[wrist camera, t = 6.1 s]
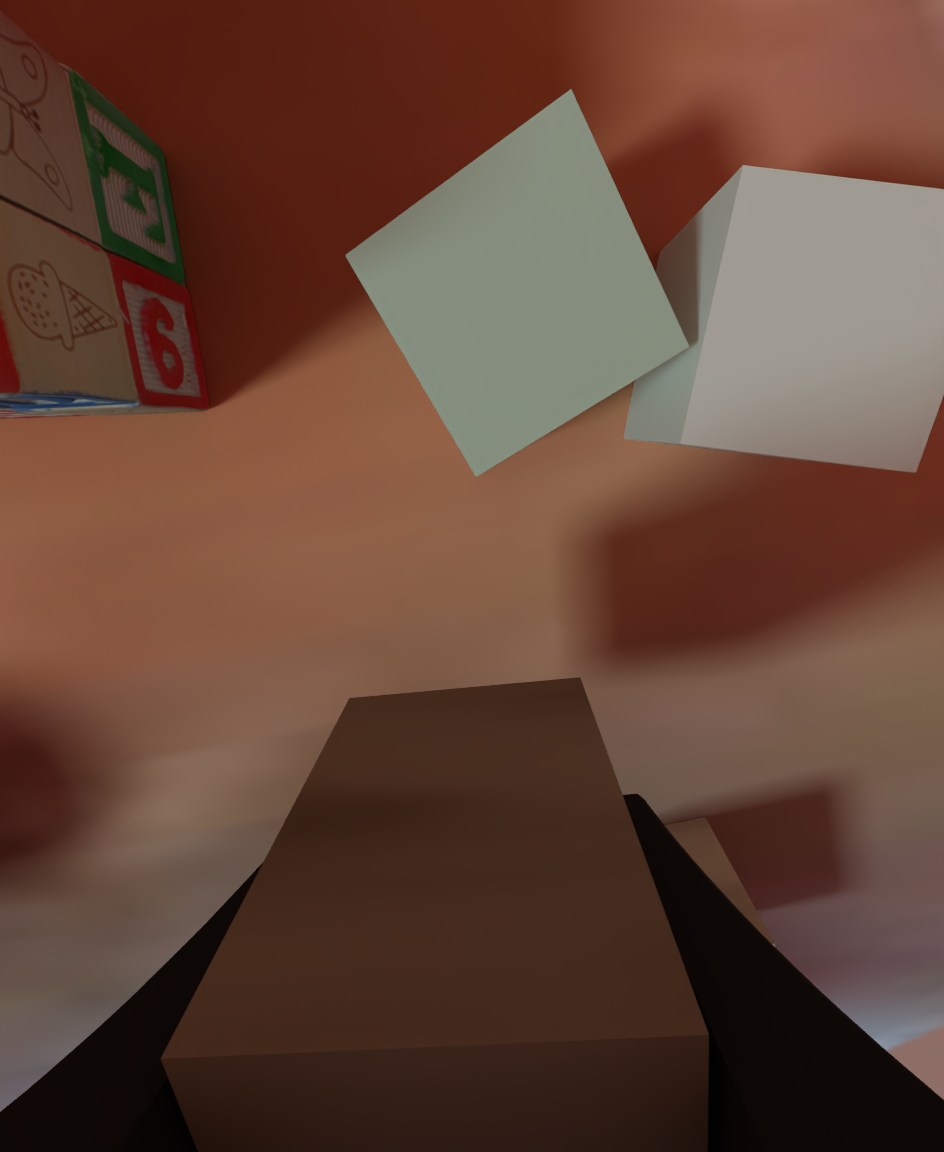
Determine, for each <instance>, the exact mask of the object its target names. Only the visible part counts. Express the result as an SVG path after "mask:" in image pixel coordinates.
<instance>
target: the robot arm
mask: <svg viewBox="0 0 944 1152" xmlns="http://www.w3.org/2000/svg"><path fill="white" fill-rule="evenodd" d="M623 798H624V800H625V803H626V806H627V809H628V812H629V814H630V817H631V820H632V823H633V825H634V828H635V831H636V834H637V837H638V839H639V842H640V845H641V848H642V850H643V853H644V856H645V859H646V861H647V864H648V867H649V870H650V873H651V875H652V878H653V881H654V884H655V886H656V889H657V892H658V895H659V898H660V900H661V903H662V906H663V909H664V911H665V914H666V917H667V920H668V922H669V925H670V928H671V931H672V934H673V936H674V939H675V942H676V945H677V947H678V950H679V953H680V956H681V959H682V961H683V964H684V967H685V970H686V972H687V975H688V978H689V981H690V983H691V986H692V989H693V992H694V995H695V997H696V1000H697V1003H698V1006H699V1008H700V1011H701V1014H702V1017H703V1020H704V1022H705V1025H706V1028H707V1031H708V1033H709V1084H708V1152H944V1100H943V1099H942V1098H941V1097H940V1096H938V1095H937V1094H936V1093H935V1092H934V1091H933V1090H931V1089H930V1088H929V1087H928V1086H927V1085H925V1084H924V1083H923V1082H922V1081H921V1080H920V1079H918V1078H917V1077H916V1076H915V1075H914V1074H913V1073H912V1072H910V1071H909V1070H908V1069H907V1068H906V1067H905V1066H903V1065H902V1064H901V1063H900V1062H899V1061H898V1060H896V1059H895V1058H894V1057H893V1056H892V1055H891V1054H889V1053H888V1052H887V1051H886V1050H885V1049H884V1048H882V1047H881V1046H880V1045H879V1044H878V1043H877V1042H876V1041H875V1040H873V1039H872V1038H871V1037H870V1036H869V1035H868V1034H867V1033H866V1032H865V1031H863V1030H862V1029H861V1028H860V1027H859V1026H858V1025H857V1024H856V1023H855V1022H853V1021H852V1020H851V1019H850V1018H849V1017H848V1016H847V1015H846V1014H845V1013H843V1012H842V1011H841V1010H840V1009H839V1008H838V1007H837V1006H836V1005H835V1004H834V1003H832V1002H831V1001H830V1000H829V999H828V998H827V997H826V996H825V995H824V994H823V993H822V992H821V991H820V990H819V989H817V988H816V987H815V986H814V985H813V984H812V983H811V982H810V981H809V980H808V979H807V978H806V977H805V976H804V975H803V974H802V973H801V972H800V971H799V970H798V969H797V968H796V967H794V966H793V965H792V964H791V963H790V962H789V961H788V960H787V959H786V958H785V957H784V956H783V955H782V954H781V953H780V952H779V951H778V950H777V949H776V948H775V947H774V946H773V945H772V944H771V943H770V942H769V941H768V940H767V939H766V938H765V937H764V936H763V935H762V934H761V933H760V932H759V931H758V930H757V928H756V927H755V926H754V925H753V924H752V923H751V922H750V921H749V920H748V919H747V918H746V917H745V916H744V915H743V914H742V913H741V912H740V911H739V910H738V909H737V908H736V906H735V905H734V904H733V903H732V902H731V901H730V900H729V899H728V898H727V897H726V896H725V894H724V893H723V892H722V891H721V890H720V889H719V888H718V887H717V886H716V885H715V884H714V882H713V881H712V880H711V879H710V878H709V877H708V876H707V875H706V874H705V873H704V871H703V870H702V869H701V868H700V867H699V866H698V865H697V863H696V862H695V861H694V860H693V859H692V858H691V857H690V855H689V854H688V853H687V852H686V851H685V849H684V848H683V847H682V846H681V845H680V844H679V842H678V841H677V840H676V839H675V838H674V836H673V835H672V834H671V833H670V832H669V830H668V829H667V828H666V827H665V825H664V824H663V823H662V822H661V820H660V819H659V818H658V817H657V815H656V814H655V813H654V811H653V810H652V809H651V808H650V806H649V805H648V804H647V802H646V801H645V800H644V799H643V798H642V797H641V796H640V795H638V794H629V795H623ZM262 864H263V863H262ZM262 864H261V865H260V866H259V867H258V868H257V869H256V871H255V872H254V873H253V874H252V875H251V876H250V877H249V878H248V879H247V880H246V881H245V882H244V883H243V885H242V886H241V887H240V888H239V889H238V890H237V891H236V892H235V893H234V894H233V895H232V896H231V897H230V898H229V899H228V900H227V902H226V903H225V904H224V905H223V906H222V907H221V908H220V909H219V910H218V911H217V912H216V913H215V914H214V915H213V916H212V917H211V919H210V920H209V921H208V922H207V923H206V924H205V925H204V926H203V927H202V928H201V929H200V930H199V931H198V932H197V933H196V934H195V935H194V936H193V937H192V938H191V939H190V940H189V941H188V942H187V943H186V944H185V945H184V946H183V947H182V948H181V949H180V950H179V951H178V952H177V953H176V954H175V955H174V956H173V957H172V958H171V959H170V960H169V961H168V962H167V963H166V964H165V965H164V966H163V967H162V968H161V969H160V970H159V971H158V972H157V973H156V974H155V975H153V976H152V977H151V978H150V979H149V980H148V981H147V982H146V983H145V984H144V985H143V986H142V987H141V988H140V989H139V990H138V991H137V992H136V993H135V994H134V995H133V996H132V997H131V998H130V999H129V1000H128V1001H127V1002H126V1003H125V1004H124V1005H123V1006H121V1007H120V1008H119V1009H118V1010H117V1011H116V1012H115V1013H114V1014H113V1015H112V1016H111V1017H110V1018H108V1019H107V1020H106V1021H105V1022H104V1023H103V1024H102V1025H101V1026H100V1027H99V1028H98V1029H96V1030H95V1031H94V1032H93V1033H92V1034H91V1035H90V1036H89V1037H87V1038H86V1039H85V1040H84V1041H83V1042H82V1043H81V1044H80V1045H78V1046H77V1047H76V1048H75V1049H74V1050H73V1051H72V1052H70V1053H69V1054H68V1055H67V1056H66V1057H65V1058H64V1059H62V1060H61V1061H60V1062H59V1063H58V1064H57V1065H56V1066H55V1067H53V1068H52V1069H51V1070H50V1071H49V1072H48V1073H47V1074H45V1075H44V1076H43V1077H42V1078H41V1079H40V1080H38V1081H37V1082H36V1083H35V1084H34V1085H32V1086H31V1087H30V1088H29V1089H28V1090H27V1091H25V1092H24V1093H23V1094H22V1095H21V1096H19V1097H18V1098H17V1099H16V1100H14V1101H13V1102H12V1103H11V1104H9V1105H8V1106H7V1107H6V1108H5V1109H3V1110H2V1111H1V1112H0V1152H198V1151H197V1149H196V1146H195V1144H194V1141H193V1139H192V1136H191V1134H190V1131H189V1129H188V1126H187V1124H186V1121H185V1119H184V1116H183V1114H182V1111H181V1109H180V1106H179V1104H178V1101H177V1099H176V1096H175V1094H174V1091H173V1089H172V1086H171V1084H170V1081H169V1079H168V1076H167V1074H166V1071H165V1069H164V1066H163V1064H162V1061H161V1057H162V1055H163V1053H164V1051H165V1049H166V1047H167V1046H168V1044H169V1042H170V1040H171V1038H172V1036H173V1034H174V1032H175V1030H176V1028H177V1026H178V1025H179V1023H180V1021H181V1019H182V1017H183V1015H184V1013H185V1011H186V1009H187V1007H188V1005H189V1004H190V1002H191V1000H192V998H193V996H194V994H195V992H196V990H197V988H198V986H199V984H200V983H201V981H202V979H203V977H204V975H205V973H206V971H207V969H208V967H209V965H210V963H211V962H212V960H213V958H214V956H215V954H216V952H217V950H218V948H219V946H220V944H221V942H222V941H223V939H224V937H225V935H226V933H227V931H228V929H229V927H230V925H231V923H232V921H233V920H234V918H235V916H236V914H237V912H238V910H239V908H240V906H241V904H242V902H243V900H244V899H245V897H246V895H247V893H248V891H249V889H250V887H251V885H252V883H253V881H254V879H255V878H256V876H257V874H258V872H259V870H260V868H261V866H262Z"/></svg>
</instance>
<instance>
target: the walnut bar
mask: <svg viewBox="0 0 944 1152" xmlns="http://www.w3.org/2000/svg"><path fill="white" fill-rule="evenodd" d="M161 1061H162V1064H163V1066H164V1069H165V1071H166V1074H167V1076H168V1079H169V1081H170V1084H171V1086H172V1089H173V1091H174V1094H175V1096H176V1099H177V1101H178V1104H179V1106H180V1109H181V1111H182V1114H183V1116H184V1119H185V1121H186V1124H187V1126H188V1129H189V1131H190V1134H191V1136H192V1139H193V1141H194V1144H195V1146H196V1149H197V1151H198V1152H708V1084H709V1033H708V1031H707V1028H706V1025H705V1022H704V1020H703V1017H702V1014H701V1011H700V1008H699V1006H698V1003H697V1000H696V997H695V995H694V992H693V989H692V986H691V983H690V981H689V978H688V975H687V972H686V970H685V967H684V964H683V961H682V959H681V956H680V953H679V950H678V947H677V945H676V942H675V939H674V936H673V934H672V931H671V928H670V925H669V922H668V920H667V917H666V914H665V911H664V909H663V906H662V903H661V900H660V898H659V895H658V892H657V889H656V886H655V884H654V881H653V878H652V875H651V873H650V870H649V867H648V864H647V861H646V859H645V856H644V853H643V850H642V848H641V845H640V842H639V839H638V837H637V834H636V831H635V828H634V825H633V823H632V820H631V817H630V814H629V812H628V809H627V806H626V803H625V800H624V798H623V795H622V792H621V789H620V787H619V784H618V781H617V778H616V776H615V773H614V770H613V767H612V764H611V762H610V759H609V756H608V753H607V751H606V748H605V745H604V742H603V739H602V737H601V734H600V731H599V728H598V726H597V723H596V720H595V717H594V715H593V712H592V709H591V706H590V703H589V701H588V698H587V695H586V692H585V690H584V687H583V684H582V681H581V678H569V679H558V680H547V681H536V682H524V683H513V684H502V685H491V686H480V687H469V688H458V689H447V690H436V691H424V692H413V693H402V694H391V695H380V696H369V697H358V698H349V700H348V702H347V704H346V706H345V708H344V710H343V712H342V713H341V715H340V717H339V719H338V721H337V723H336V725H335V727H334V729H333V731H332V733H331V734H330V736H329V738H328V740H327V742H326V744H325V746H324V748H323V750H322V752H321V754H320V755H319V757H318V759H317V761H316V763H315V765H314V767H313V769H312V771H311V773H310V775H309V776H308V778H307V780H306V782H305V784H304V786H303V788H302V790H301V792H300V794H299V796H298V797H297V799H296V801H295V803H294V805H293V807H292V809H291V811H290V813H289V815H288V817H287V818H286V820H285V822H284V824H283V826H282V828H281V830H280V832H279V834H278V836H277V838H276V839H275V841H274V843H273V845H272V847H271V849H270V851H269V853H268V855H267V857H266V858H265V860H264V862H263V864H262V866H261V868H260V870H259V872H258V874H257V876H256V878H255V879H254V881H253V883H252V885H251V887H250V889H249V891H248V893H247V895H246V897H245V899H244V900H243V902H242V904H241V906H240V908H239V910H238V912H237V914H236V916H235V918H234V920H233V921H232V923H231V925H230V927H229V929H228V931H227V933H226V935H225V937H224V939H223V941H222V942H221V944H220V946H219V948H218V950H217V952H216V954H215V956H214V958H213V960H212V962H211V963H210V965H209V967H208V969H207V971H206V973H205V975H204V977H203V979H202V981H201V983H200V984H199V986H198V988H197V990H196V992H195V994H194V996H193V998H192V1000H191V1002H190V1004H189V1005H188V1007H187V1009H186V1011H185V1013H184V1015H183V1017H182V1019H181V1021H180V1023H179V1025H178V1026H177V1028H176V1030H175V1032H174V1034H173V1036H172V1038H171V1040H170V1042H169V1044H168V1046H167V1047H166V1049H165V1051H164V1053H163V1055H162V1057H161Z"/></svg>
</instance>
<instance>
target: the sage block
mask: <svg viewBox="0 0 944 1152" xmlns="http://www.w3.org/2000/svg"><path fill="white" fill-rule="evenodd" d="M345 257H346V258H347V260H348V262H349V263H350V265H351V267H352V268H353V270H354V272H355V273H356V275H357V277H358V278H359V280H360V282H361V284H362V285H363V287H364V289H365V290H366V292H367V294H368V295H369V297H370V299H371V300H372V302H373V304H374V305H375V307H376V309H377V311H378V312H379V314H380V316H381V317H382V319H383V321H384V322H385V324H386V326H387V327H388V329H389V331H390V332H391V334H392V336H393V338H394V339H395V341H396V343H397V344H398V346H399V348H400V349H401V351H402V353H403V354H404V356H405V358H406V359H407V361H408V363H409V365H410V366H411V368H412V370H413V371H414V373H415V375H416V376H417V378H418V380H419V381H420V383H421V385H422V386H423V388H424V390H425V392H426V393H427V395H428V397H429V398H430V400H431V402H432V403H433V405H434V407H435V408H436V410H437V412H438V414H439V415H440V417H441V419H442V420H443V422H444V424H445V425H446V427H447V429H448V430H449V432H450V434H451V435H452V437H453V439H454V441H455V442H456V444H457V446H458V447H459V449H460V451H461V452H462V454H463V456H464V457H465V459H466V461H467V462H468V464H469V466H470V468H471V469H472V471H473V473H474V474H475V476H476V477H477V476H478V475H480V474H482V473H483V472H485V471H486V470H488V469H490V468H491V467H493V466H495V465H496V464H498V463H500V462H501V461H503V460H505V459H506V458H508V457H509V456H511V455H513V454H514V453H516V452H518V451H519V450H521V449H523V448H524V447H526V446H528V445H529V444H531V443H532V442H534V441H536V440H537V439H539V438H541V437H542V436H544V435H546V434H547V433H549V432H550V431H552V430H554V429H555V428H557V427H559V426H560V425H562V424H564V423H565V422H567V421H569V420H570V419H572V418H573V417H575V416H577V415H578V414H580V413H582V412H583V411H585V410H587V409H588V408H590V407H592V406H593V405H595V404H596V403H598V402H600V401H601V400H603V399H605V398H606V397H608V396H610V395H611V394H613V393H614V392H616V391H618V390H619V389H621V388H623V387H624V386H626V385H628V384H629V383H631V382H633V381H634V380H636V379H637V378H639V377H641V376H642V375H644V374H646V373H647V372H649V371H651V370H652V369H654V368H656V367H657V366H659V365H660V364H662V363H664V362H665V361H667V360H669V359H670V358H672V357H674V356H675V355H677V354H678V353H680V352H682V351H683V350H685V349H687V348H688V347H689V345H688V342H687V340H686V338H685V336H684V334H683V331H682V329H681V327H680V325H679V323H678V321H677V318H676V316H675V314H674V312H673V310H672V308H671V305H670V303H669V301H668V299H667V297H666V294H665V292H664V290H663V288H662V286H661V284H660V281H659V279H658V277H657V275H656V273H655V270H654V268H653V266H652V264H651V262H650V260H649V257H648V255H647V253H646V251H645V249H644V247H643V244H642V242H641V240H640V238H639V236H638V233H637V231H636V229H635V227H634V225H633V223H632V220H631V218H630V216H629V214H628V212H627V209H626V207H625V205H624V203H623V201H622V199H621V196H620V194H619V192H618V190H617V188H616V186H615V183H614V181H613V179H612V177H611V175H610V172H609V170H608V168H607V166H606V164H605V162H604V159H603V157H602V155H601V153H600V151H599V148H598V146H597V144H596V142H595V140H594V138H593V135H592V133H591V131H590V129H589V127H588V125H587V122H586V120H585V118H584V116H583V114H582V111H581V109H580V107H579V105H578V103H577V101H576V98H575V96H574V94H573V92H572V90H571V89H570V90H569V91H568V92H566V93H565V94H564V95H562V96H561V97H559V98H558V99H557V100H555V101H554V102H553V103H551V104H550V105H549V106H547V107H546V108H544V109H543V110H542V111H540V112H539V113H538V114H536V115H535V116H534V117H532V118H531V119H530V120H528V121H527V122H525V123H524V124H523V125H521V126H520V127H519V128H517V129H516V130H515V131H513V132H512V133H510V134H509V135H508V136H506V137H505V138H504V139H502V140H501V141H500V142H498V143H497V144H496V145H494V146H493V147H491V148H490V149H489V150H487V151H486V152H485V153H483V154H482V155H481V156H479V157H478V158H477V159H475V160H474V161H472V162H471V163H470V164H468V165H467V166H466V167H464V168H463V169H462V170H460V171H459V172H457V173H456V174H455V175H453V176H452V177H451V178H449V179H448V180H447V181H445V182H444V183H443V184H441V185H440V186H438V187H437V188H436V189H434V190H433V191H432V192H430V193H429V194H428V195H426V196H425V197H423V198H422V199H421V200H419V201H418V202H417V203H415V204H414V205H413V206H411V207H410V208H409V209H407V210H406V211H404V212H403V213H402V214H400V215H399V216H398V217H396V218H395V219H394V220H392V221H391V222H389V223H388V224H387V225H385V226H384V227H383V228H381V229H380V230H379V231H377V232H376V233H375V234H373V235H372V236H370V237H369V238H368V239H366V240H365V241H364V242H362V243H361V244H360V245H358V246H357V247H355V248H354V249H353V250H351V251H350V252H349V253H347V254H346V255H345Z"/></svg>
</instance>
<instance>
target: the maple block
mask: <svg viewBox="0 0 944 1152" xmlns="http://www.w3.org/2000/svg"><path fill="white" fill-rule="evenodd" d="M665 827H666V828H667V829H668V830H669V832H670V833H671V834H672V835H673V836H674V838H675V839H676V840H677V841H678V842H679V844H680V845H681V846H682V847H683V848H684V849H685V851H686V852H687V853H688V854H689V855H690V857H691V858H692V859H693V860H694V861H695V862H696V863H697V865H698V866H699V867H700V868H701V869H702V870H703V871H704V873H705V874H706V875H707V876H708V877H709V878H710V879H711V880H712V881H713V882H714V884H715V885H716V886H717V887H718V888H719V889H720V890H721V891H722V892H723V893H724V894H725V896H726V897H727V898H728V899H729V900H730V901H731V902H732V903H733V904H734V905H735V906H736V908H737V909H738V910H739V911H740V912H741V913H742V914H743V915H744V916H745V917H746V918H747V919H748V920H749V921H750V922H751V923H752V924H753V925H754V926H755V927H756V928H757V930H758V931H759V932H760V933H761V934H762V935H763V936H764V937H765V938H766V939H767V940H768V941H769V942H770V943H771V944H772V945H773V946H774V947H775V943H774V941H773V940H772V938H771V936H770V934H769V932H768V930H767V929H766V927H765V925H764V923H763V921H762V920H761V918H760V916H759V914H758V912H757V910H756V909H755V907H754V905H753V903H752V901H751V900H750V898H749V896H748V894H747V892H746V890H745V889H744V887H743V885H742V883H741V881H740V880H739V878H738V876H737V874H736V872H735V870H734V869H733V867H732V865H731V863H730V861H729V860H728V858H727V856H726V854H725V852H724V850H723V849H722V847H721V845H720V843H719V841H718V840H717V838H716V836H715V834H714V832H713V830H712V829H711V827H710V825H709V823H708V821H707V820H706V818H705V817H701V818H697V819H692V820H687V821H683V822H678V823H673V824H669V825H665Z"/></svg>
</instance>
